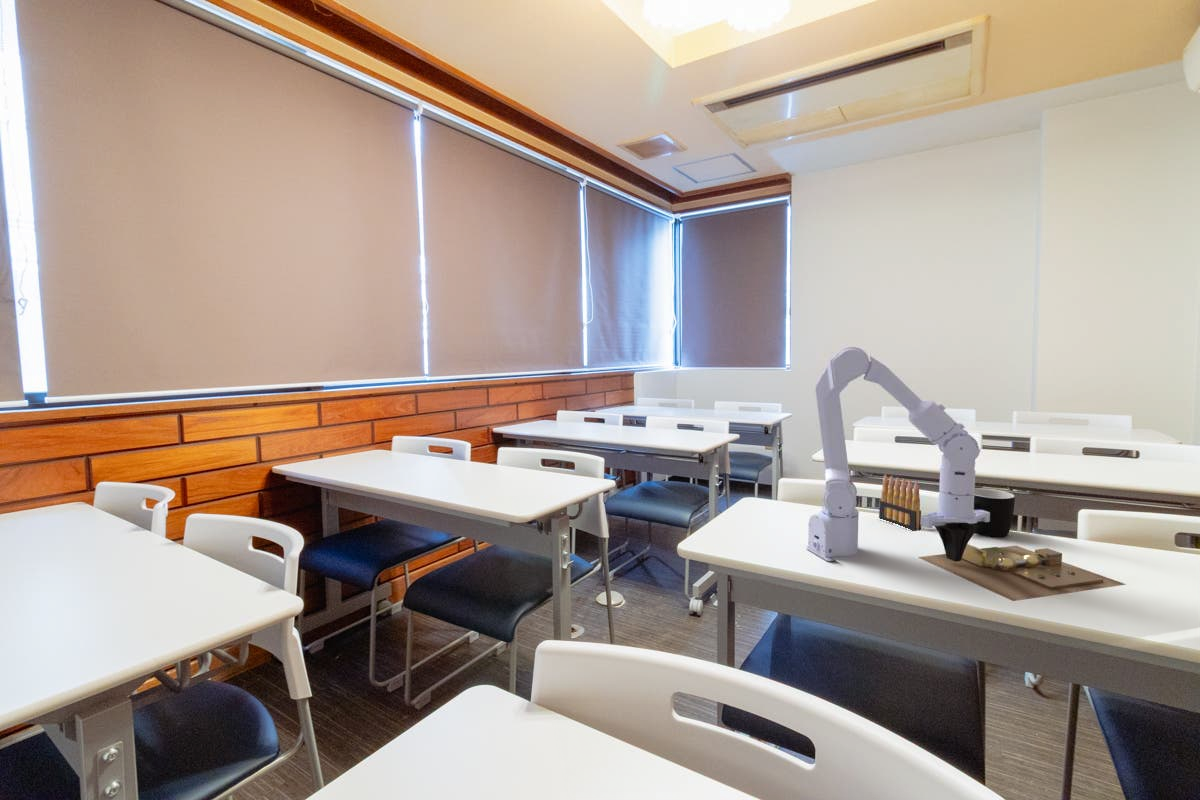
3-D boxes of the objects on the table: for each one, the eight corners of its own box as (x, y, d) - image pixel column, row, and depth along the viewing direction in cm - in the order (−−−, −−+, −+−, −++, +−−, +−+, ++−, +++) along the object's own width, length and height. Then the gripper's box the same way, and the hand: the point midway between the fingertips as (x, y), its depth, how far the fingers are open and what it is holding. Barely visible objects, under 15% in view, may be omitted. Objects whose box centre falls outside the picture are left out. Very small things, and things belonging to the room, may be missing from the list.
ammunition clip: (921, 531, 127) (923, 482, 126) (915, 532, 126) (917, 483, 125) (884, 518, 137) (885, 473, 136) (878, 519, 136) (879, 473, 135)
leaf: (1011, 547, 112) (1012, 533, 112) (1060, 565, 103) (1060, 550, 103) (953, 554, 109) (953, 540, 109) (998, 573, 100) (998, 557, 99)
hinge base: (1046, 561, 105) (1047, 548, 105) (1103, 582, 96) (1104, 567, 95) (997, 568, 103) (997, 554, 102) (1050, 590, 93) (1051, 574, 93)
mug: (983, 527, 128) (985, 486, 127) (1022, 539, 120) (1024, 495, 119) (945, 533, 125) (947, 491, 124) (983, 546, 116) (985, 501, 115)
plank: (1012, 605, 90) (1013, 600, 89) (917, 560, 109) (918, 557, 109) (1125, 588, 95) (1125, 584, 95) (1015, 549, 114) (1016, 545, 114)
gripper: (943, 500, 98) (940, 571, 99) (1006, 494, 101) (1002, 563, 103) (912, 490, 105) (910, 557, 106) (972, 485, 108) (969, 550, 109)
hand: (953, 559), depth 105 cm, fingers closed
